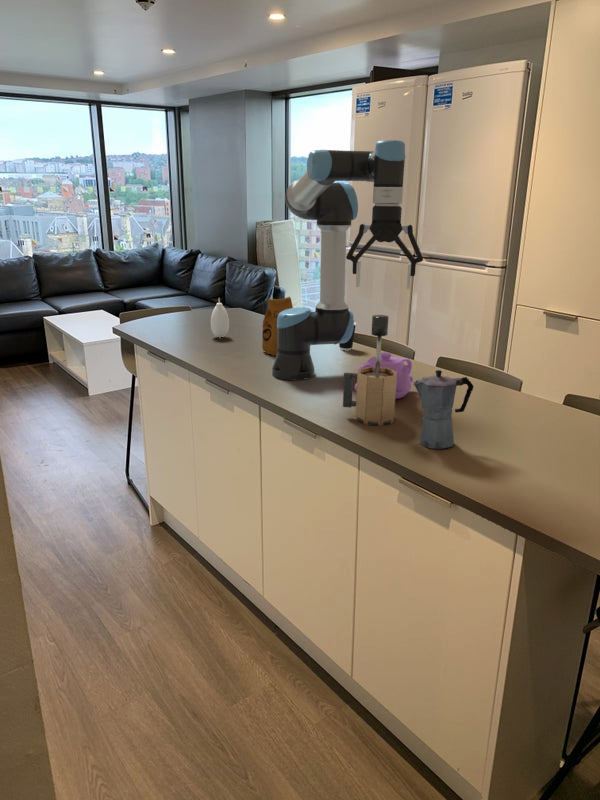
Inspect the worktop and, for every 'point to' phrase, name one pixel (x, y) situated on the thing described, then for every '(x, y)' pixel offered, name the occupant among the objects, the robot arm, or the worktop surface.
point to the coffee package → (273, 323)
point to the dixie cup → (348, 342)
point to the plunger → (379, 341)
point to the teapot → (395, 364)
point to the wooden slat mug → (372, 396)
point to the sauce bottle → (219, 321)
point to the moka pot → (439, 408)
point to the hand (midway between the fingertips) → (382, 287)
